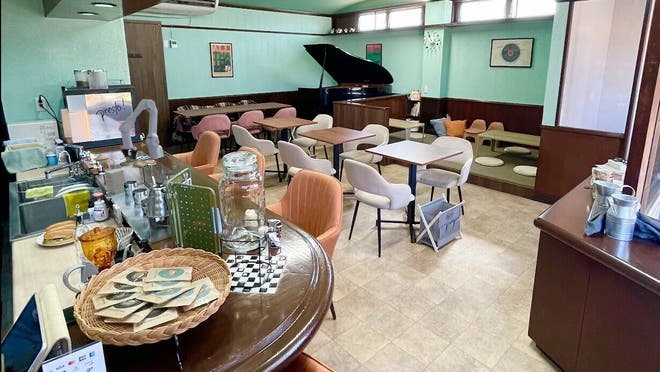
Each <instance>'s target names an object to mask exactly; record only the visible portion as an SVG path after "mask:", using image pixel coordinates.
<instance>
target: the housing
mask: <svg viewBox="0 0 660 372" xmlns="http://www.w3.org/2000/svg"><path fill="white" fill-rule="evenodd" d="M125 157H126V158H125ZM123 158H125V161H124V162H126V163H130V162H134V161H137V159H138V158H136V159H135V160H133V158H132V155H131V153H130V154H129V155H127V156H124V155H123Z"/></svg>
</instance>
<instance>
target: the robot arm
mask: <svg viewBox="0 0 660 372" xmlns="http://www.w3.org/2000/svg"><path fill="white" fill-rule="evenodd" d="M144 110H146V111H147V112H148V113H149V117H148V120H149V121H148V134H147V135H146V139H145V144H146V146H147V148H148V153H149V157H148V160H149V159H150V160H157V159H159V158H163V157H165V155H164V150H163V147H162V146H161V145H160V139H159V136H158V135H157V129H158V128H157V127H158V112H159V111H158V108H157V107H156V102H155V101H154V100H153V99H147V98H146V99H144V98H143V99H141V100H140V102H139V103H138V105H137V106H136V107H135V110H133V112H132V114H130V115H128V116H126V119H125V120H124V121H122V123H121V124H120V125H118V126H119V127H118V132H120V134H121V140H122V144H123V146H120V149H121V150H120V152H121V153H122V154H123V157H124V156H127V155H130V154H131V155H132V158H133V160H135V159H137V154H138V152H139V150H138V149H137V146H134V145H133V141H132V137H131V133H130V132H131V129H132V127H133V125H134V124H135V122H136V119H137V118H138V116H139V115H140V114H141V112H142V111H144ZM129 153H130V154H129ZM124 158H125V159H126V157H124Z"/></svg>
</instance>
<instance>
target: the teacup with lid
mask: <svg viewBox="0 0 660 372" xmlns="http://www.w3.org/2000/svg"><path fill="white" fill-rule="evenodd" d="M93 159H94V161H95V160H96V161H98V162H100V163H101V165H102V166H103V169H104V170H112V167H113V166H115V163H116V161H115V159H113V158H110V157H109V155H108V156H107V155H103V154H102V153H100V154H99V155H98V156H96V157H95V158H93ZM110 161H113V163H112V164H111V162H110Z"/></svg>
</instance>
